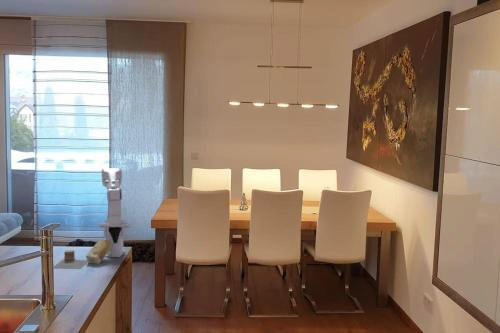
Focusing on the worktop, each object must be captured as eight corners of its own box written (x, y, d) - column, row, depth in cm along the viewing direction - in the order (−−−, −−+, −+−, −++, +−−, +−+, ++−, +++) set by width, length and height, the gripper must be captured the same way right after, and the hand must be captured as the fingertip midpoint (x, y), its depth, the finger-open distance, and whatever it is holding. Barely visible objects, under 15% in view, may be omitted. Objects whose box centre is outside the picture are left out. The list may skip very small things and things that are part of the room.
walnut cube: (65, 258, 231) (65, 250, 231) (74, 258, 232) (74, 250, 232) (64, 260, 227) (64, 252, 227) (73, 260, 228) (73, 251, 228)
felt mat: (62, 260, 229) (62, 259, 229) (89, 260, 229) (89, 260, 228) (51, 268, 217) (51, 267, 217) (80, 269, 217) (80, 268, 217)
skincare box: (85, 256, 223) (98, 238, 233) (87, 262, 225) (101, 245, 235) (97, 257, 221) (110, 240, 231) (99, 264, 223) (112, 247, 233)
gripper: (96, 216, 218) (97, 245, 219) (128, 216, 217) (128, 245, 219) (101, 212, 225) (102, 240, 226) (132, 213, 224) (132, 241, 226)
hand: (115, 242), depth 223 cm, fingers closed
